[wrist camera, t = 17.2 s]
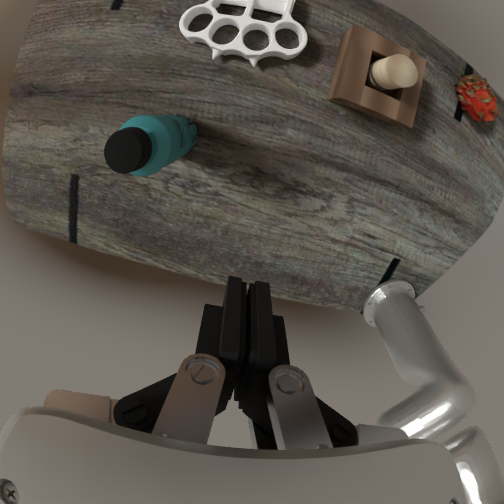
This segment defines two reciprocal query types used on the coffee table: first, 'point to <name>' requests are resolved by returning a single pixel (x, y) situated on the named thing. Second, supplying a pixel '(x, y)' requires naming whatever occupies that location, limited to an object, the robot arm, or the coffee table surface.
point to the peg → (391, 73)
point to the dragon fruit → (477, 98)
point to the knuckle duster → (245, 28)
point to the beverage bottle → (149, 143)
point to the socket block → (355, 72)
